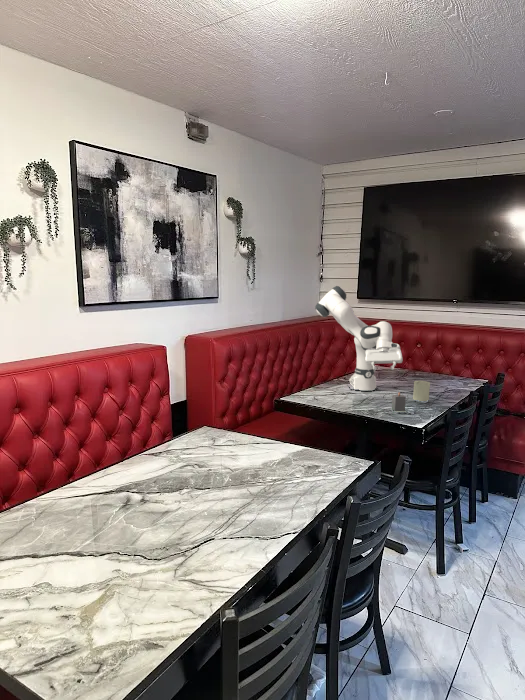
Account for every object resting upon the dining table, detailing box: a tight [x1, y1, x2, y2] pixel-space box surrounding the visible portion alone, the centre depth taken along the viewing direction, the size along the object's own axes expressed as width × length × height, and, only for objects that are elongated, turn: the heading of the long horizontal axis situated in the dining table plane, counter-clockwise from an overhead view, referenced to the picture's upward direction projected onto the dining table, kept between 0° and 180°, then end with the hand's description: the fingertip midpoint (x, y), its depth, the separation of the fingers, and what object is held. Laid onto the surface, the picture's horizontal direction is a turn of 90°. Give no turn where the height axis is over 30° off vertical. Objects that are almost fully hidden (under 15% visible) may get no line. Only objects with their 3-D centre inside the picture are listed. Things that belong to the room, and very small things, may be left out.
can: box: [412, 380, 431, 401], centre depth 270 cm, size 9×9×12 cm
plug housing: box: [391, 392, 407, 411], centre depth 247 cm, size 4×6×10 cm
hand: (383, 369), depth 254 cm, fingers open, 8 cm apart
